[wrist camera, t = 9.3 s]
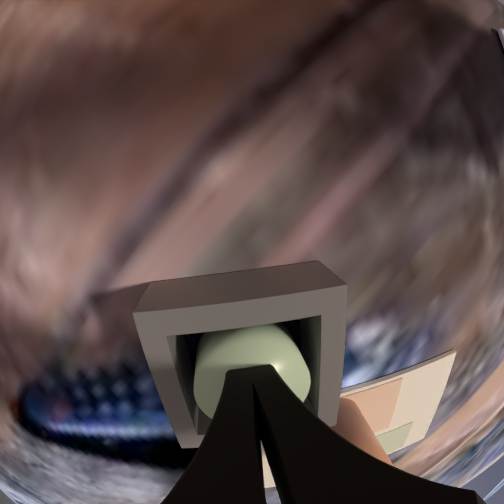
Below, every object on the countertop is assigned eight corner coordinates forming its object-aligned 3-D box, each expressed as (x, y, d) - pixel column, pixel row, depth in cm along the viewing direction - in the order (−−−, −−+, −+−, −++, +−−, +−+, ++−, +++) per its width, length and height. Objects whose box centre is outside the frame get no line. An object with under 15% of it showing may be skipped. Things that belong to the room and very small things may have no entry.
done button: (293, 304, 10) (310, 333, 8) (295, 384, 11) (309, 417, 9) (187, 319, 9) (181, 351, 7) (206, 396, 10) (205, 433, 8)
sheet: (453, 349, 13) (457, 352, 12) (421, 435, 15) (424, 439, 14) (242, 408, 12) (243, 414, 11) (257, 485, 14) (258, 490, 13)
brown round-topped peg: (362, 389, 12) (434, 500, 5) (355, 430, 12) (407, 528, 6) (294, 407, 11) (343, 541, 5) (296, 447, 12) (332, 557, 5)
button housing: (318, 260, 10) (347, 284, 8) (318, 387, 12) (336, 424, 9) (150, 282, 10) (132, 312, 7) (185, 406, 11) (181, 448, 9)
